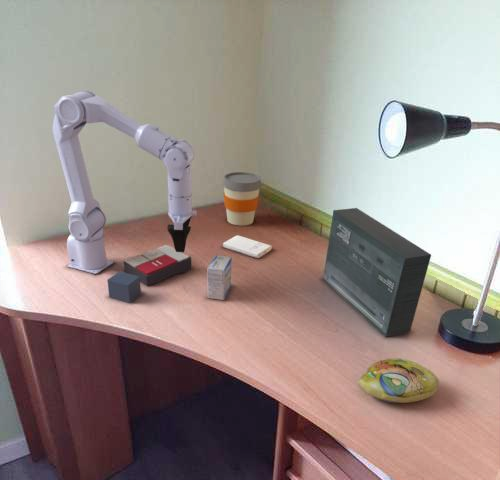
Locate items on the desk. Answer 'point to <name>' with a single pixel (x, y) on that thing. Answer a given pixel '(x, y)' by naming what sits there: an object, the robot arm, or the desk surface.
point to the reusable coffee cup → (241, 197)
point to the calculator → (157, 264)
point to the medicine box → (219, 277)
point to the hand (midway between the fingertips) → (181, 245)
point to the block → (124, 287)
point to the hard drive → (247, 246)
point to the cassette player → (375, 270)
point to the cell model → (399, 381)
